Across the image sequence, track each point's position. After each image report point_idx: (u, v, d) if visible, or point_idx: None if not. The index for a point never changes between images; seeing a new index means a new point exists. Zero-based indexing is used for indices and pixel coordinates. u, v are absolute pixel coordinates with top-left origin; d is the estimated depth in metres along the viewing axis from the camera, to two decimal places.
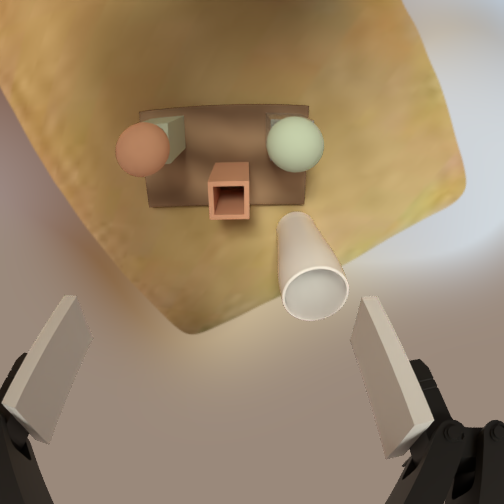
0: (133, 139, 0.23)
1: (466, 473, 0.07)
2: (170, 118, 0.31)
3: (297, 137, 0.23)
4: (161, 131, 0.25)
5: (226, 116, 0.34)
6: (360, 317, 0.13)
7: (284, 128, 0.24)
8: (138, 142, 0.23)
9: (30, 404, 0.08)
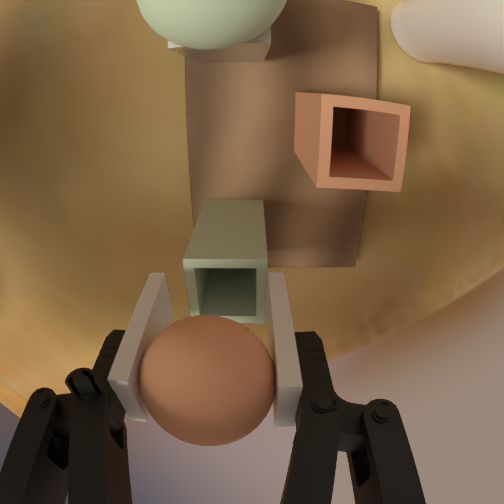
0: (165, 428, 0.09)
1: (366, 455, 0.08)
2: None
3: None
4: (155, 348, 0.10)
5: (207, 129, 0.19)
6: (267, 291, 0.15)
7: (150, 8, 0.06)
8: (169, 424, 0.09)
9: (137, 378, 0.10)
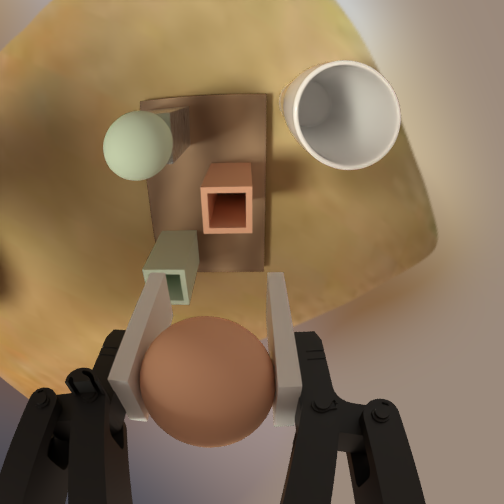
0: (166, 429, 0.09)
1: (366, 456, 0.08)
2: None
3: (113, 156, 0.18)
4: (155, 350, 0.10)
5: (159, 188, 0.32)
6: (267, 291, 0.15)
7: (111, 168, 0.19)
8: (169, 425, 0.09)
9: (137, 378, 0.10)
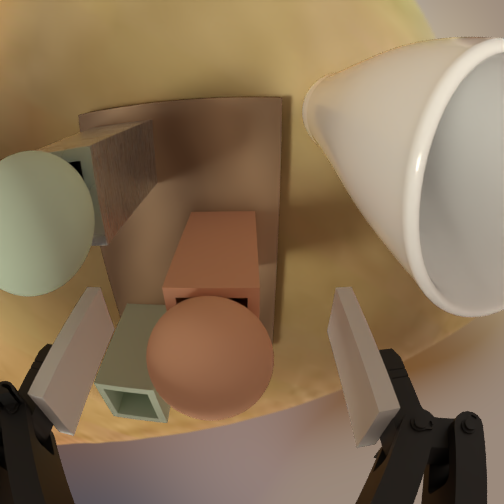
0: (170, 401, 0.10)
1: (441, 466, 0.07)
2: None
3: None
4: (162, 325, 0.11)
5: (117, 247, 0.21)
6: (335, 307, 0.14)
7: None
8: (174, 396, 0.10)
9: (57, 394, 0.09)
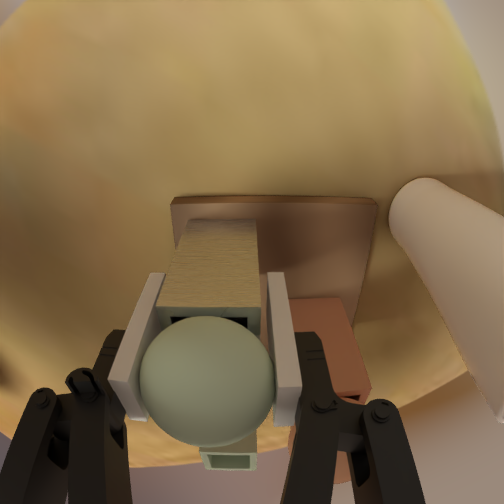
0: None
1: (366, 456, 0.08)
2: None
3: (174, 435, 0.09)
4: None
5: None
6: (267, 291, 0.15)
7: None
8: None
9: (137, 378, 0.10)
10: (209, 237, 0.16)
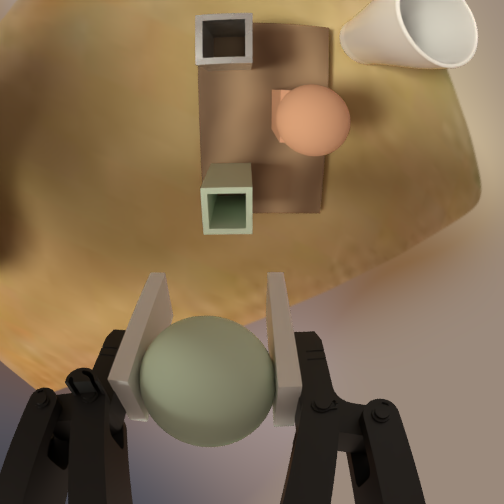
0: (300, 122, 0.17)
1: (366, 456, 0.08)
2: None
3: (175, 435, 0.09)
4: (292, 90, 0.18)
5: (213, 115, 0.28)
6: (267, 291, 0.15)
7: None
8: (304, 115, 0.17)
9: (137, 378, 0.10)
10: None
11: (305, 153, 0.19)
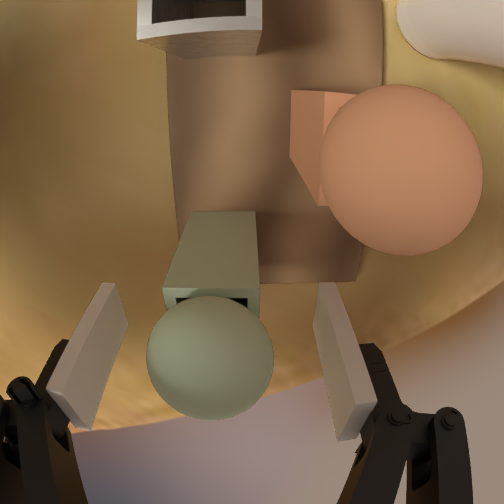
0: (397, 191, 0.06)
1: (424, 462, 0.08)
2: None
3: (179, 407, 0.10)
4: (363, 96, 0.07)
5: (192, 133, 0.17)
6: (318, 302, 0.14)
7: None
8: (411, 172, 0.06)
9: (75, 389, 0.09)
10: None
11: (385, 252, 0.08)
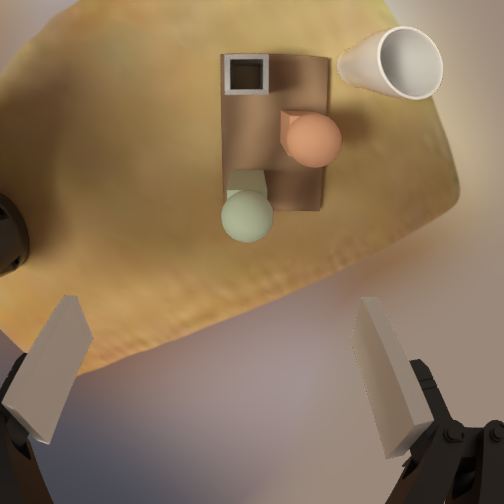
0: (304, 143, 0.24)
1: (466, 473, 0.07)
2: None
3: (236, 228, 0.28)
4: (298, 118, 0.25)
5: (233, 130, 0.35)
6: (360, 317, 0.13)
7: (230, 234, 0.29)
8: (308, 138, 0.24)
9: (30, 404, 0.08)
10: None
11: (308, 165, 0.26)
